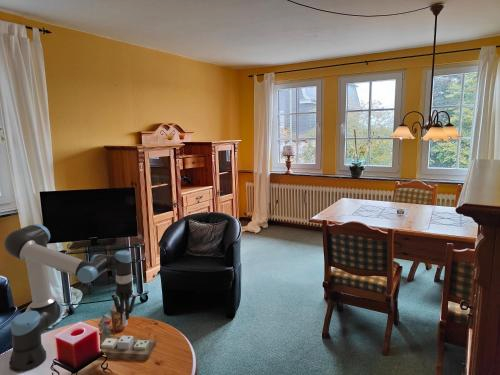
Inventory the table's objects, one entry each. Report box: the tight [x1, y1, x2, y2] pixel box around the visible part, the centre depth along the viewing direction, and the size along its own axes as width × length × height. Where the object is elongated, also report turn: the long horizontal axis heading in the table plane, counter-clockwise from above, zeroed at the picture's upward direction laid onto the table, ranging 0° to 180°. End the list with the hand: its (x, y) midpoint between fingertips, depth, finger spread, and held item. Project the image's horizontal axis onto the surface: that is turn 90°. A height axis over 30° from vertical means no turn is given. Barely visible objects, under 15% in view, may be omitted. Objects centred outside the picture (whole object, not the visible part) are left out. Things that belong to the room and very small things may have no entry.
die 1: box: [101, 338, 118, 349], centre depth 176 cm, size 6×6×4 cm
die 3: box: [134, 340, 149, 351], centre depth 175 cm, size 6×6×4 cm
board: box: [99, 336, 157, 361], centre depth 176 cm, size 28×13×3 cm, turn 87°
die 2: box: [117, 334, 134, 350], centre depth 175 cm, size 6×6×4 cm
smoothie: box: [110, 296, 126, 333], centre depth 194 cm, size 8×8×20 cm
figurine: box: [97, 310, 115, 341], centre depth 186 cm, size 8×8×15 cm
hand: (125, 325), depth 174 cm, fingers closed
